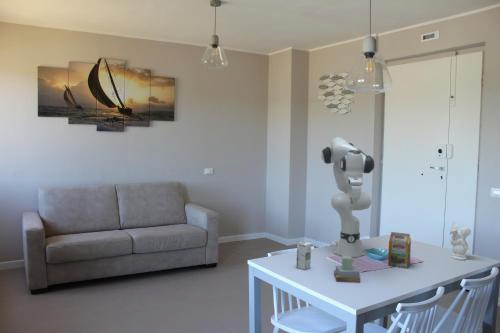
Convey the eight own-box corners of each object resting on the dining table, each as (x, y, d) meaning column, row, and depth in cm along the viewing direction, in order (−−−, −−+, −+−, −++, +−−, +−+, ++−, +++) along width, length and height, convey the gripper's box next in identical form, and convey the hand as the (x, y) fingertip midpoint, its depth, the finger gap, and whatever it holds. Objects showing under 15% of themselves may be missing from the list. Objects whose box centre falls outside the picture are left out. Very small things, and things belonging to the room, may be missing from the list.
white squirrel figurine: (471, 260, 271) (474, 224, 269) (456, 262, 266) (458, 226, 264) (455, 254, 282) (458, 220, 280) (440, 256, 278) (442, 222, 276)
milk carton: (388, 265, 257) (389, 233, 256) (391, 261, 266) (392, 230, 265) (407, 268, 252) (408, 235, 251) (410, 263, 262) (411, 232, 260)
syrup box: (301, 265, 255) (302, 241, 254) (310, 267, 251) (311, 242, 250) (296, 268, 251) (296, 242, 250) (305, 270, 247) (305, 244, 246)
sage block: (342, 266, 237) (342, 255, 236) (351, 267, 236) (351, 256, 235) (342, 269, 232) (342, 258, 231) (352, 270, 231) (352, 258, 230)
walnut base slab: (334, 275, 240) (334, 270, 240) (356, 276, 240) (356, 271, 239) (336, 283, 229) (336, 277, 228) (360, 283, 228) (360, 278, 227)
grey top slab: (335, 271, 239) (335, 265, 238) (353, 271, 239) (354, 265, 239) (340, 277, 229) (340, 271, 228) (359, 277, 229) (359, 271, 229)
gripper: (345, 178, 251) (344, 202, 253) (350, 182, 231) (350, 208, 232) (356, 178, 251) (356, 202, 252) (363, 182, 231) (362, 208, 232)
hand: (353, 205), depth 242 cm, fingers open, 8 cm apart
